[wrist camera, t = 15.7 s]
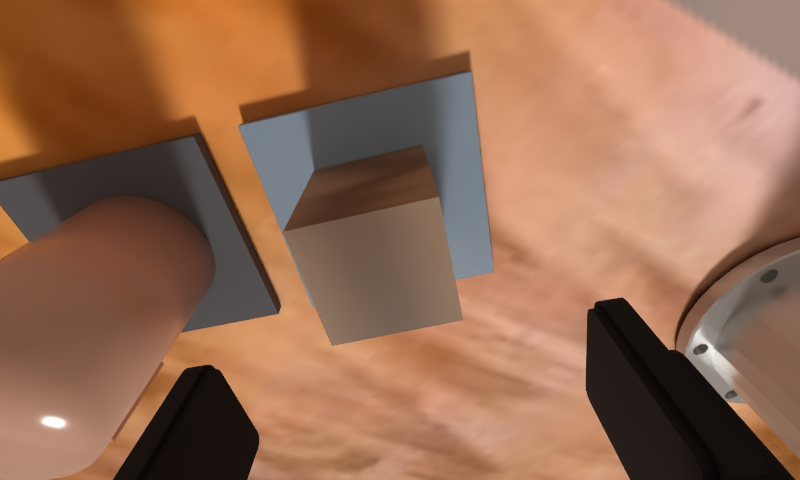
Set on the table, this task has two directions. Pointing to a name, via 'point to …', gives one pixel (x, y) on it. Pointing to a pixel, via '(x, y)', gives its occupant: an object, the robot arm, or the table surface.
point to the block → (374, 247)
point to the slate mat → (381, 133)
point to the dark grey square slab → (169, 184)
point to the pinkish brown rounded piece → (91, 328)
